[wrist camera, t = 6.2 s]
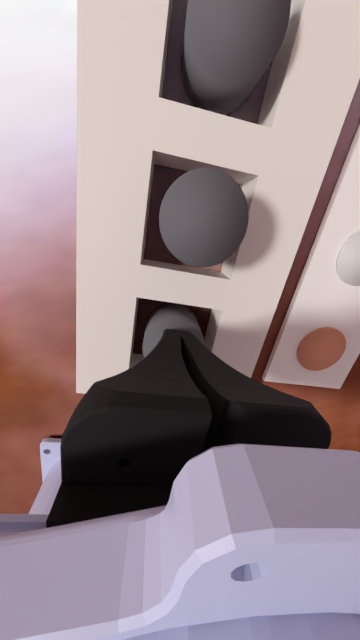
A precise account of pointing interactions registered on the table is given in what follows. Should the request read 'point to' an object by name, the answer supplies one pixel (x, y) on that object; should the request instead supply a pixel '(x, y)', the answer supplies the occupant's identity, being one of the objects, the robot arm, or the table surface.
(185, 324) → the button inner
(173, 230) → the button middle
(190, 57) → the button outer
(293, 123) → the button board
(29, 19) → the table surface
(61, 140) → the table surface
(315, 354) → the pattern card
